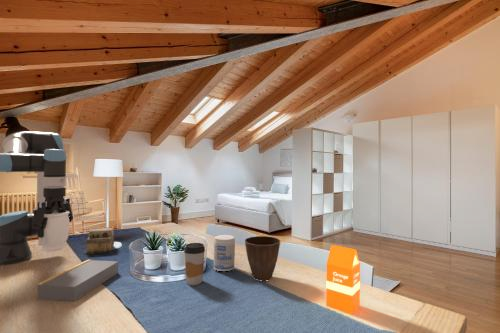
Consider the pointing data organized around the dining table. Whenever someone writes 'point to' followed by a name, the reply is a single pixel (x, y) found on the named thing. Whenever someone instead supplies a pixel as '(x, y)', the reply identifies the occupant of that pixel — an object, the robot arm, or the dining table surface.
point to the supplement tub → (224, 252)
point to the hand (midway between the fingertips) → (54, 241)
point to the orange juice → (343, 279)
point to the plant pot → (262, 256)
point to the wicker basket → (100, 240)
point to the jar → (56, 230)
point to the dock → (77, 280)
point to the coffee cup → (194, 263)
